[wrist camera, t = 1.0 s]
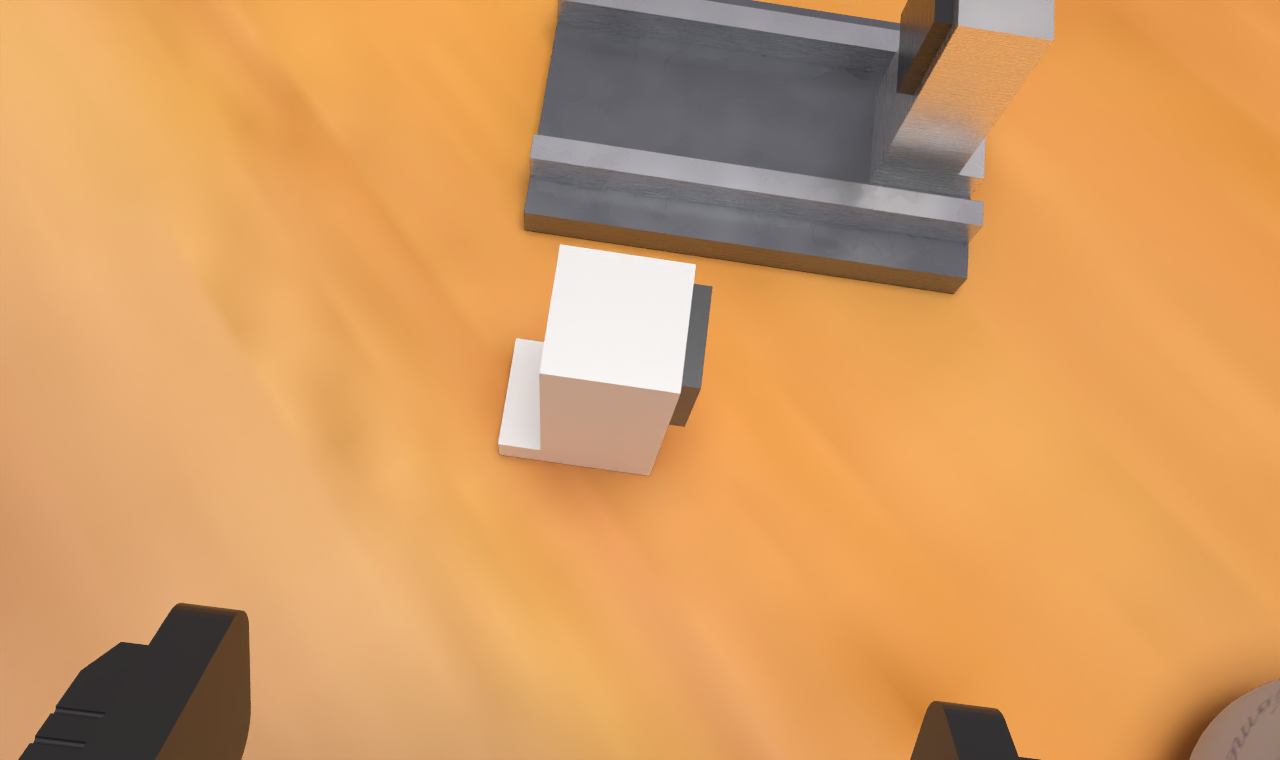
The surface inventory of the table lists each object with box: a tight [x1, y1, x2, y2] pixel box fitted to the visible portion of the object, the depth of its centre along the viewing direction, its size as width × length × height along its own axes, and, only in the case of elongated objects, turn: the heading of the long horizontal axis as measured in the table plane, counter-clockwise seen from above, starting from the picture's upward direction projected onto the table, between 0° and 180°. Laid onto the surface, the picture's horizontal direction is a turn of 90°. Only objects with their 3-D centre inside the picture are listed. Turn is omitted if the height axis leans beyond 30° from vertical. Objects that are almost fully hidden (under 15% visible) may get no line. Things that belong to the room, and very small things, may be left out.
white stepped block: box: [498, 244, 712, 476], centre depth 37 cm, size 6×4×10 cm, turn 83°
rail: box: [524, 0, 1054, 294], centre depth 40 cm, size 17×11×12 cm, turn 83°
